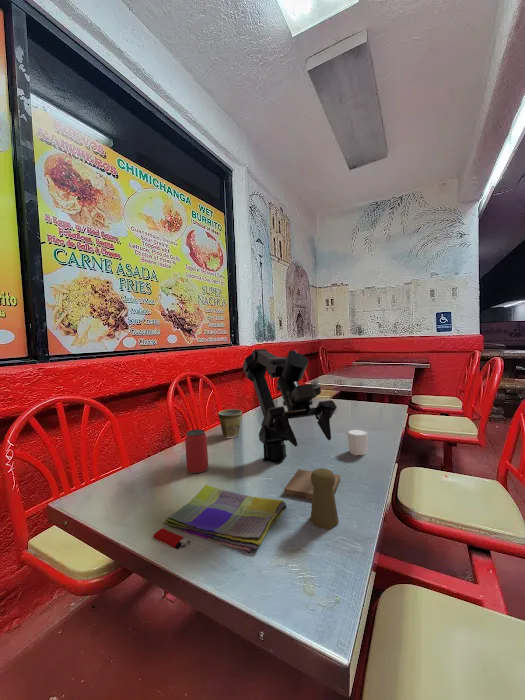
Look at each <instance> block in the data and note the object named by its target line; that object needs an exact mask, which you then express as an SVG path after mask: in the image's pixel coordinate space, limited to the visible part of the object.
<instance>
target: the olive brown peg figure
mask: <svg viewBox="0 0 525 700" xmlns="http://www.w3.org/2000/svg"><path fill="white" fill-rule="evenodd" d="M312 471H313V472H312V474H311V482H312V485H313V486H314V488H313V499H312V500H311V512H310V522H311V523H312V525H314V526H315V527H317V528H319V529H328V530H329V529H333V528H335V527H337V526H338V524H339V515H338V508H337V503H336V497H335V495H334V491H333V486H334V484H335V476H334V475H335V474H334V472H333V471H332V470H330V469H328V468H324V467H323V468H320V467H319V468H316V469H314V470H312Z"/></svg>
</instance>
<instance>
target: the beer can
mask: <svg viewBox="0 0 525 700" xmlns="http://www.w3.org/2000/svg"><path fill="white" fill-rule="evenodd" d="M185 435H186V436H185V439H184V440H185V442H184V443H185V444H184V445H185V456H186V457H185V460H186V461H185V462H186V470H187V472H189V473H190V472H191V473H190V474H199V473H200V472H201V473H203V472H205V471H206V470H207V469H208V468H209V454H208V438H207V434H206V433H205V430H204V429H202V428H201V429H200V428H199V429H191V430H188V431H187V432H186V434H185Z"/></svg>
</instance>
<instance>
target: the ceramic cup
mask: <svg viewBox="0 0 525 700" xmlns="http://www.w3.org/2000/svg"><path fill="white" fill-rule="evenodd" d="M217 415H218V421H219V424H220V428H221V432H222V433H221V434H222V436H223V437H224V438H225V437H235V438H238V437H239V435H240V430H241V429H240V428H241V423H242V417H243V411H242V410H241V409H236V408H230V409H224V410H220V411H219V412H217ZM237 436H238V437H237Z"/></svg>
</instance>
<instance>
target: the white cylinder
mask: <svg viewBox="0 0 525 700" xmlns="http://www.w3.org/2000/svg"><path fill="white" fill-rule="evenodd" d="M346 435H347V441H348V450H349V451H350V452H349V454H351V455H353V456H357V455H362V456H365V454H366V453H367V452H368V443H369V442H368V439H369V438H368V437H369V433H368V431H366V430H363V429H358V428H357V429H349V430H347V431H346ZM366 455H367V454H366Z"/></svg>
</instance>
